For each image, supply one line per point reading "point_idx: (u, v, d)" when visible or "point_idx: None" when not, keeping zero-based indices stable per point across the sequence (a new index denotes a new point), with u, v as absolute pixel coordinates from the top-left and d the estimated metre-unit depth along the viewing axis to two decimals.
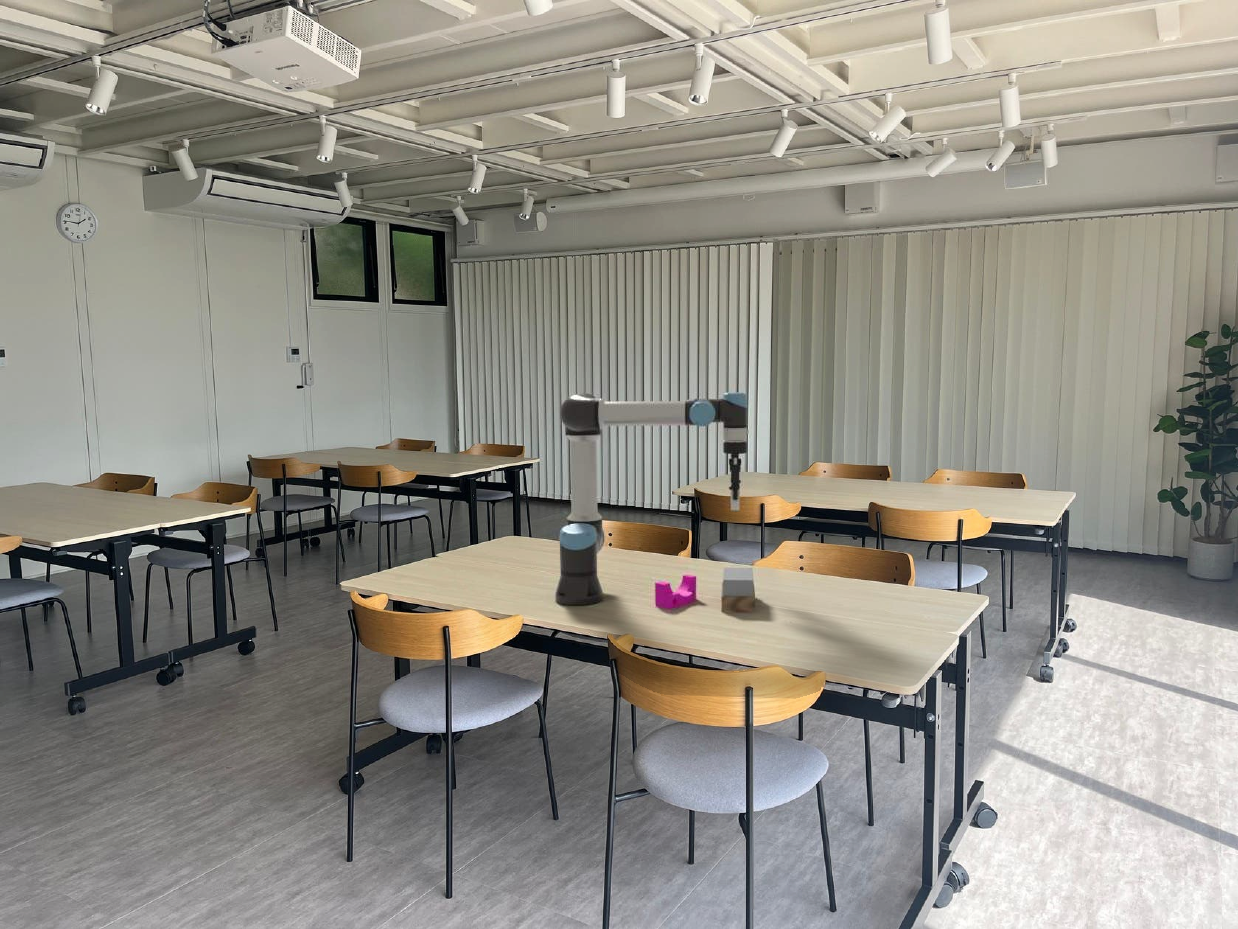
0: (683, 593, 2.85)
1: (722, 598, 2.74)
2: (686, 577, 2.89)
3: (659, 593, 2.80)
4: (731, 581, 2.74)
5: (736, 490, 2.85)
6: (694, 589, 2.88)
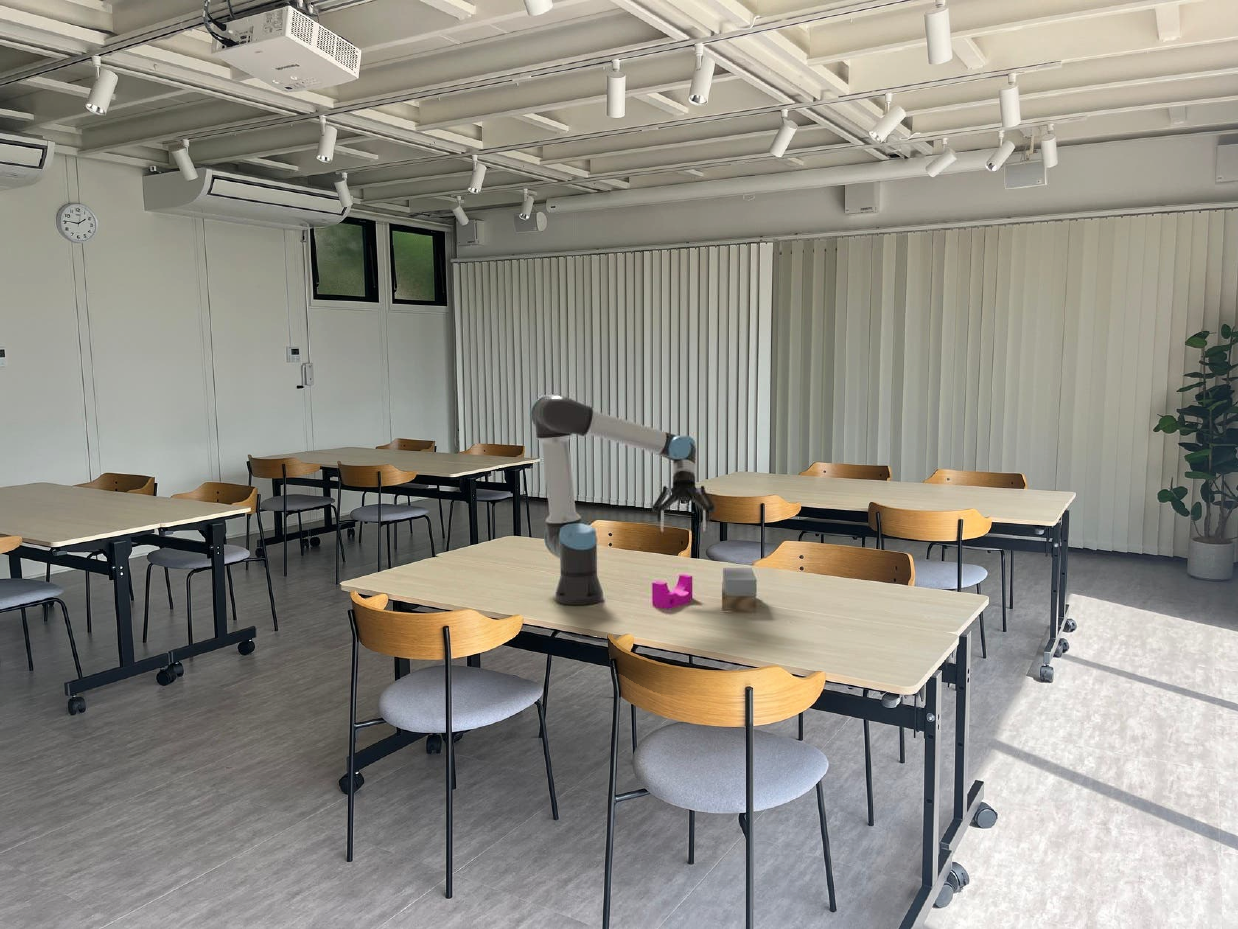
0: (680, 593, 2.85)
1: (723, 598, 2.74)
2: (682, 577, 2.89)
3: (656, 592, 2.80)
4: (734, 581, 2.73)
5: None
6: (690, 589, 2.89)
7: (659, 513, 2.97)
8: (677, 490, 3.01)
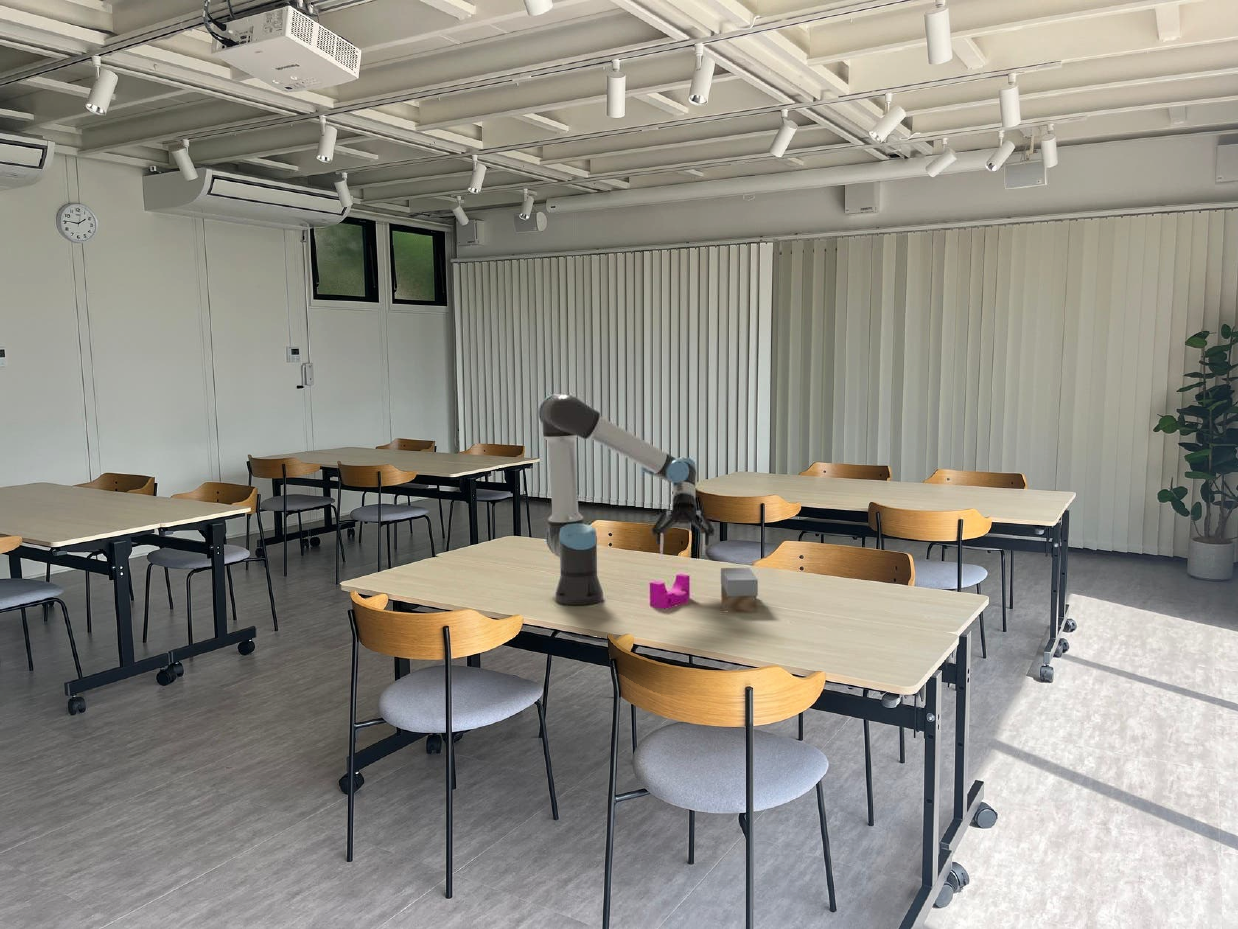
0: (677, 592, 2.86)
1: (723, 598, 2.73)
2: (679, 576, 2.90)
3: (654, 592, 2.80)
4: (736, 581, 2.73)
5: None
6: (688, 588, 2.89)
7: (658, 536, 2.97)
8: (677, 513, 3.00)
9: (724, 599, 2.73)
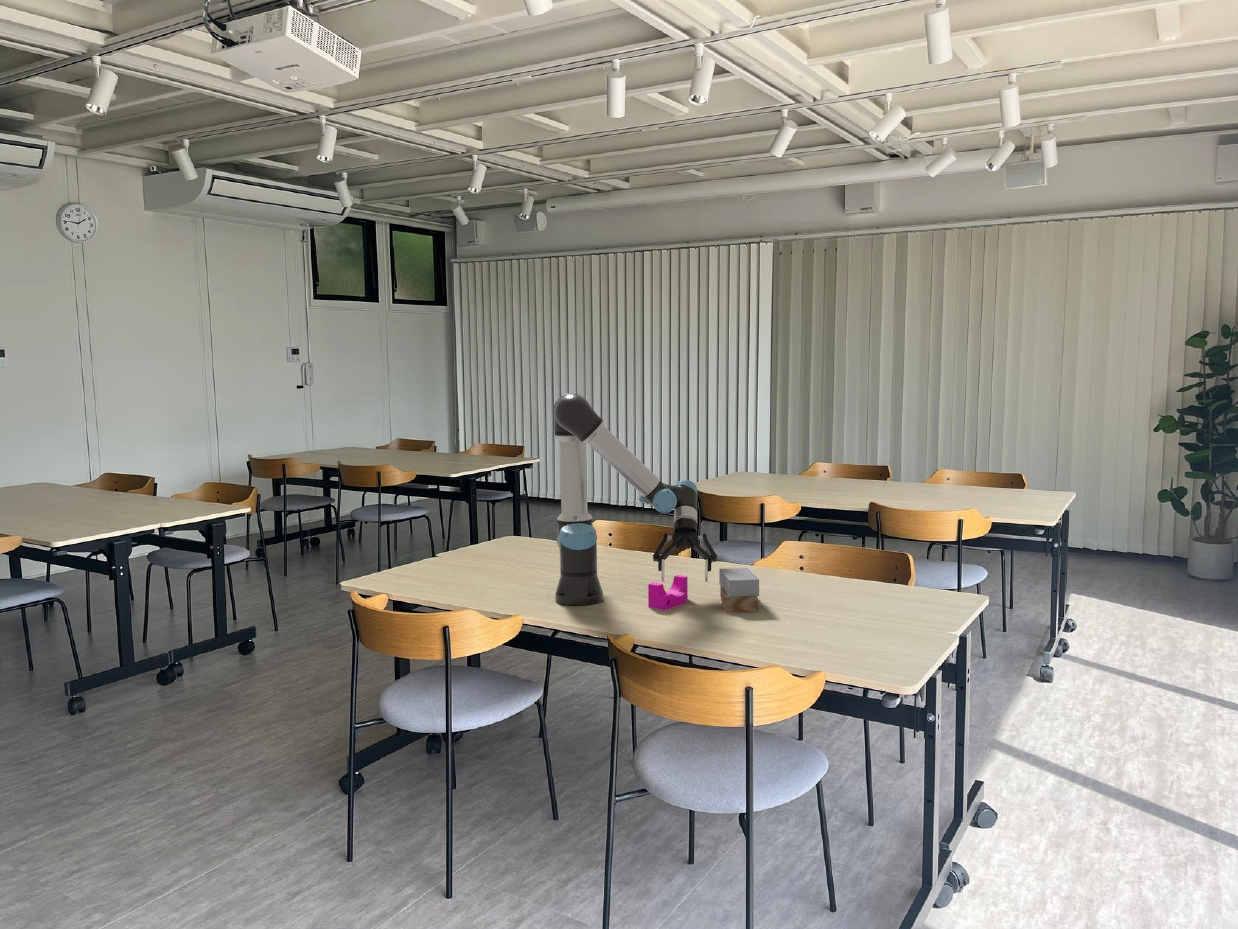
0: (675, 594, 2.85)
1: (725, 598, 2.73)
2: (677, 577, 2.88)
3: (653, 594, 2.79)
4: (737, 581, 2.73)
5: (711, 562, 2.89)
6: (685, 589, 2.88)
7: (660, 562, 2.89)
8: (678, 538, 2.93)
9: (725, 599, 2.73)
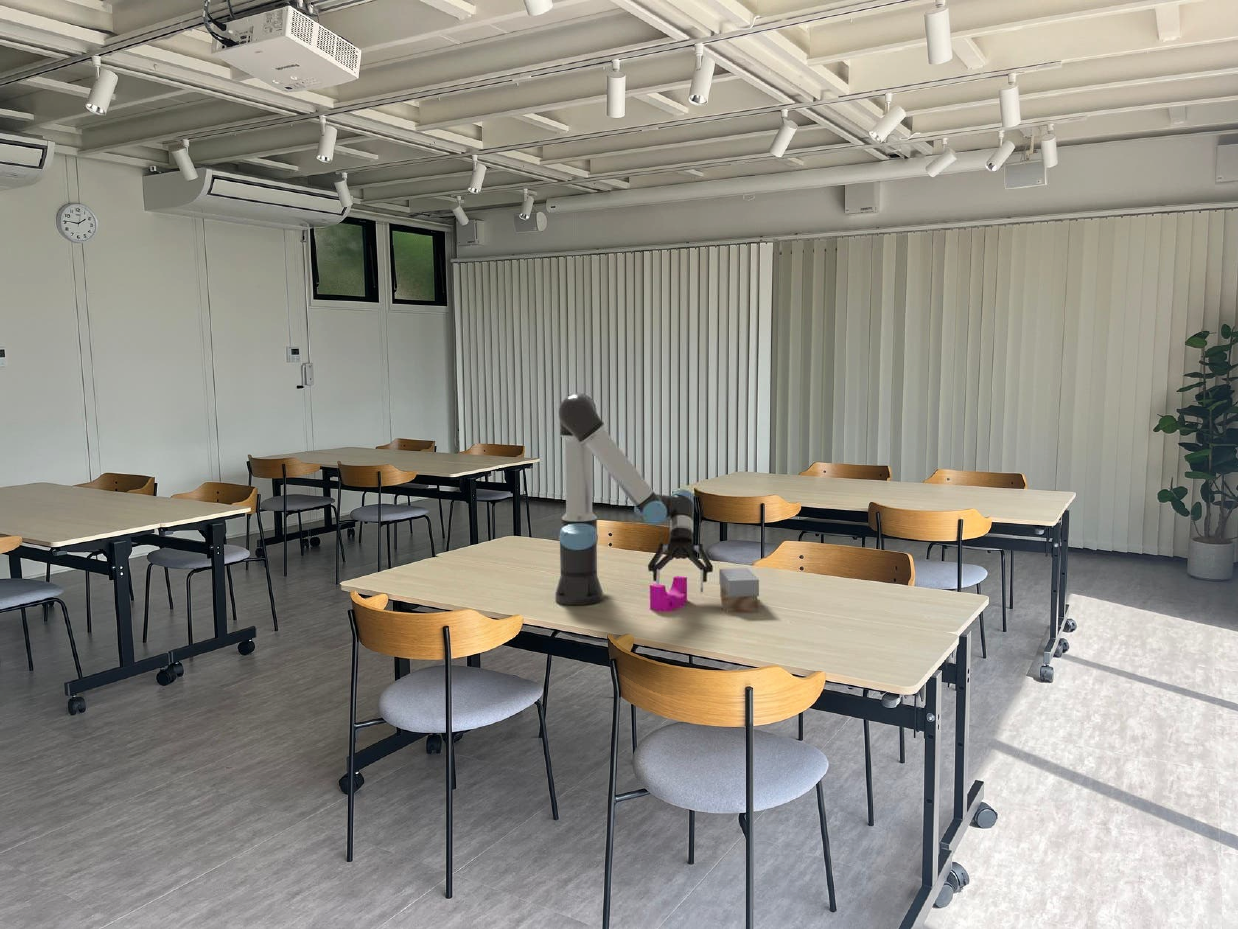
0: (676, 595, 2.83)
1: (724, 598, 2.73)
2: (677, 579, 2.87)
3: (655, 595, 2.77)
4: (737, 582, 2.73)
5: None
6: (685, 590, 2.87)
7: (655, 572, 2.86)
8: (674, 548, 2.89)
9: (725, 599, 2.73)
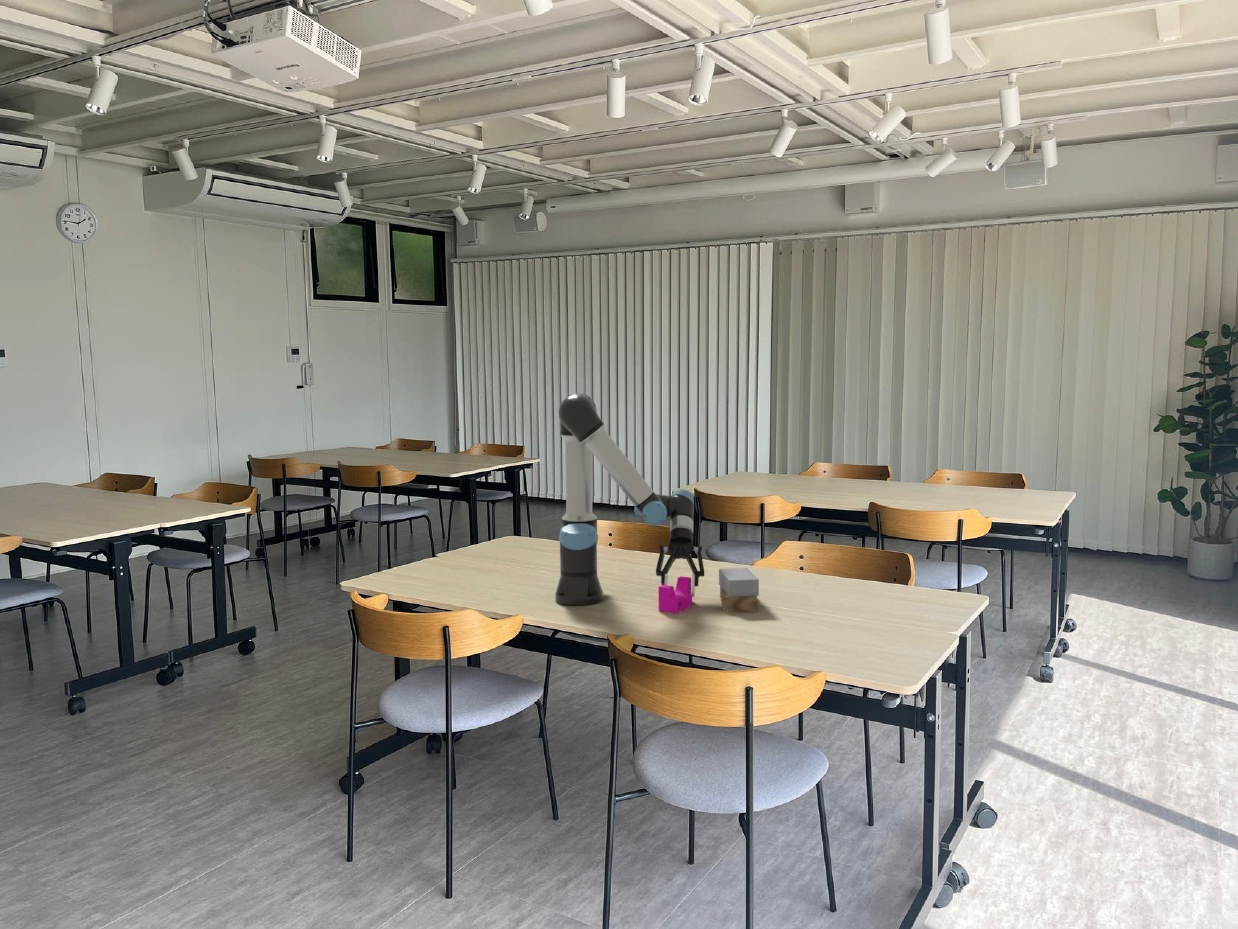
0: (682, 595, 2.81)
1: (724, 598, 2.73)
2: (681, 579, 2.85)
3: (664, 597, 2.74)
4: (737, 581, 2.73)
5: (698, 577, 2.84)
6: (690, 591, 2.86)
7: (663, 577, 2.84)
8: (675, 548, 2.89)
9: (725, 599, 2.73)
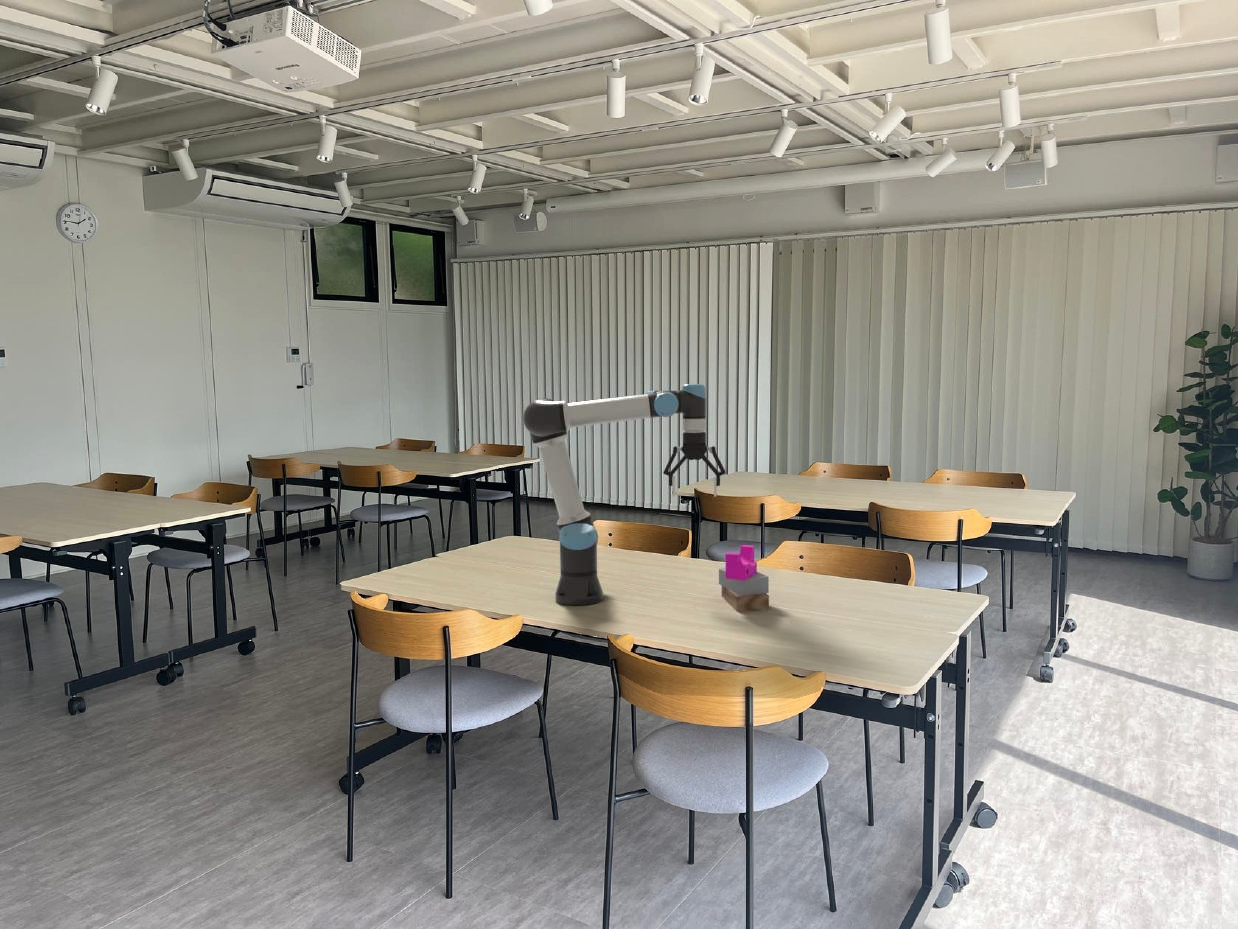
0: None
1: (737, 598, 2.74)
2: (745, 547, 2.86)
3: (731, 564, 2.75)
4: (749, 580, 2.75)
5: None
6: (753, 559, 2.87)
7: (670, 478, 3.00)
8: (688, 453, 2.97)
9: (738, 599, 2.74)
